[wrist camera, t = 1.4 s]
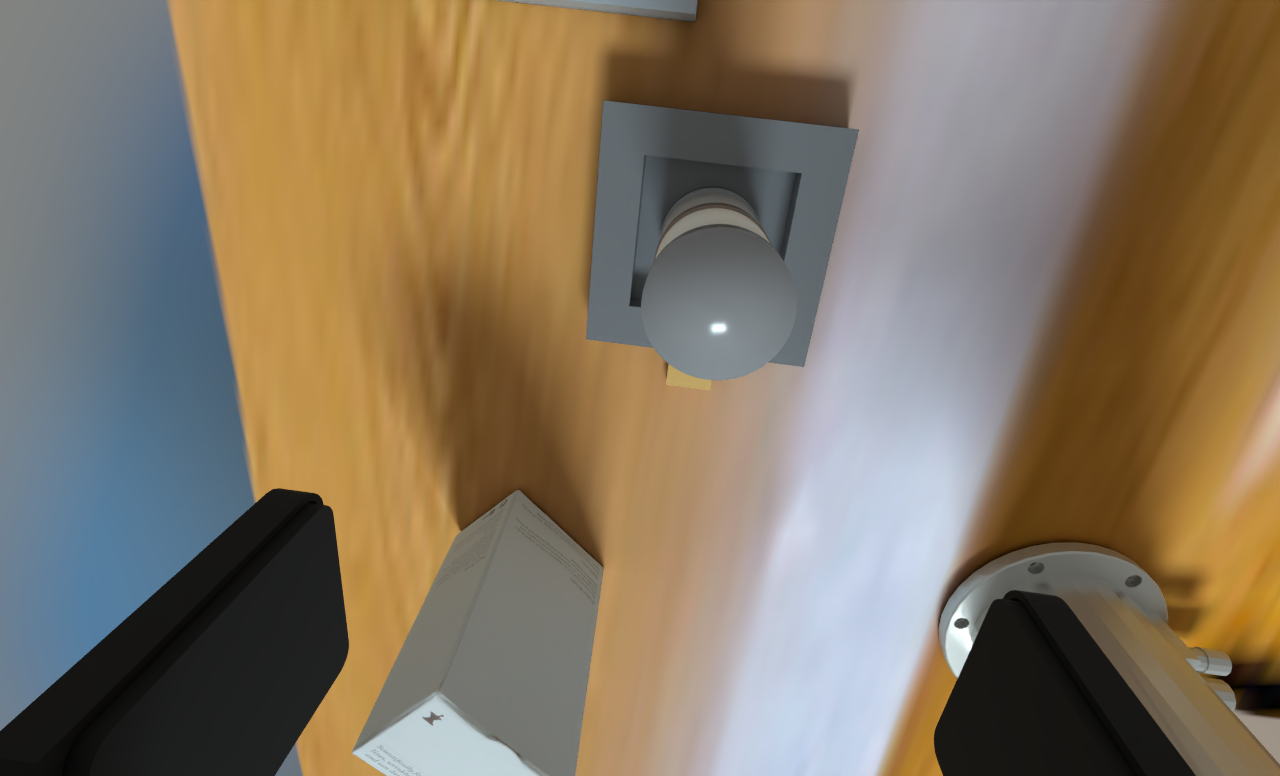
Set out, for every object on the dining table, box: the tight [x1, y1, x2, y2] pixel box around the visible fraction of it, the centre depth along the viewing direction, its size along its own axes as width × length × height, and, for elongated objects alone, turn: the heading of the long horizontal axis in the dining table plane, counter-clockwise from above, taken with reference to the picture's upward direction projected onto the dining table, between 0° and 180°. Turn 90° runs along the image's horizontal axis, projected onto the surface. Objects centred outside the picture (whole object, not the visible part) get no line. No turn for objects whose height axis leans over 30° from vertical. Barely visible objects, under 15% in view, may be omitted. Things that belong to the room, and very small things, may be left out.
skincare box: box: [352, 490, 604, 776], centre depth 33 cm, size 8×6×15 cm
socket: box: [586, 100, 859, 390], centre depth 30 cm, size 11×14×2 cm
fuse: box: [641, 186, 797, 380], centre depth 25 cm, size 5×5×12 cm
